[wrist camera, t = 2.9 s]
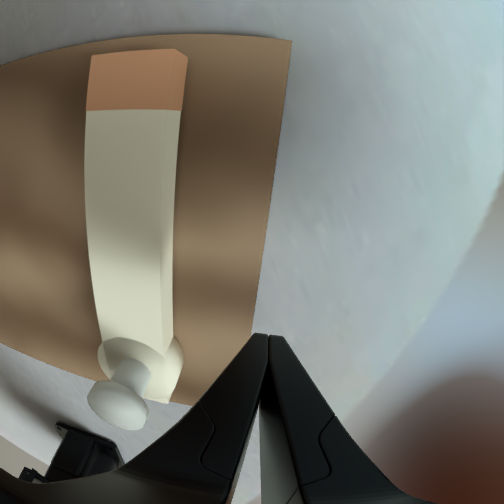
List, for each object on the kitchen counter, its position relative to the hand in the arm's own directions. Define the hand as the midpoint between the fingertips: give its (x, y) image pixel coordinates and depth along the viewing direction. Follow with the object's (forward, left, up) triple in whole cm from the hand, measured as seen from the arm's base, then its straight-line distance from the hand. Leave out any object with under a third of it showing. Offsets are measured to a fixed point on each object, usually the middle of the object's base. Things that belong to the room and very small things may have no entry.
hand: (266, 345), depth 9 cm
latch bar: (+1, +5, -4) cm, 7 cm away
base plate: (0, +11, -5) cm, 12 cm away
